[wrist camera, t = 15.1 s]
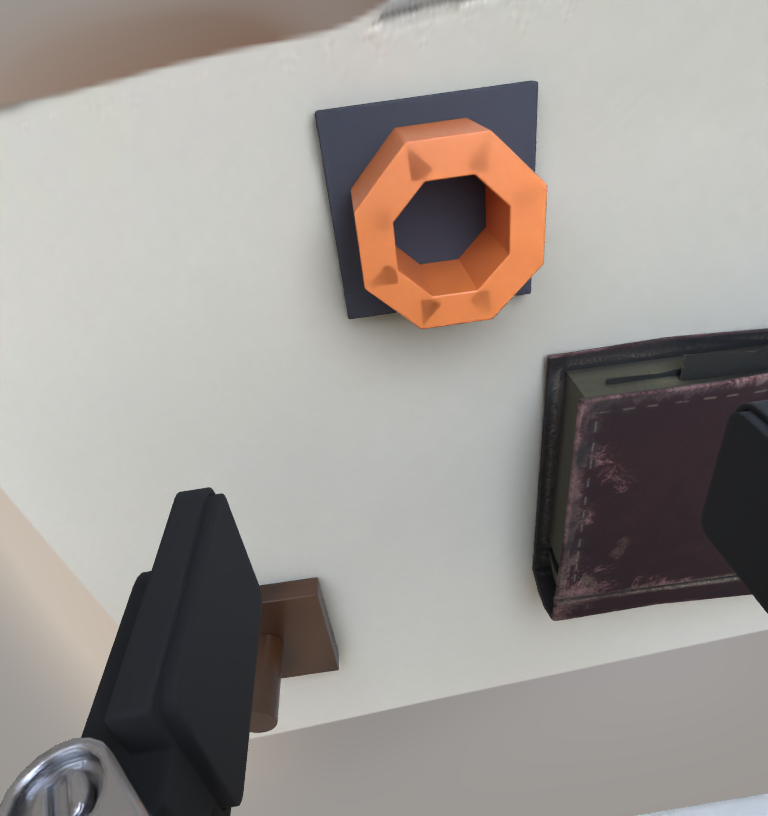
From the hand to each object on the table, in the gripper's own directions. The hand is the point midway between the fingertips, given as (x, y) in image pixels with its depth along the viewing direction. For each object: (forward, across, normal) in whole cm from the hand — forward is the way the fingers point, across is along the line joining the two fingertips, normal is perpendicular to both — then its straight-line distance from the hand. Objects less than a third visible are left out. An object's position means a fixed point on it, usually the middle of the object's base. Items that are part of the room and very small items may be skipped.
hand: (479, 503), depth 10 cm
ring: (+17, -2, -1) cm, 17 cm away
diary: (+18, -20, +16) cm, 32 cm away
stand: (+18, +12, +27) cm, 35 cm away
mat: (+18, -2, -1) cm, 18 cm away
